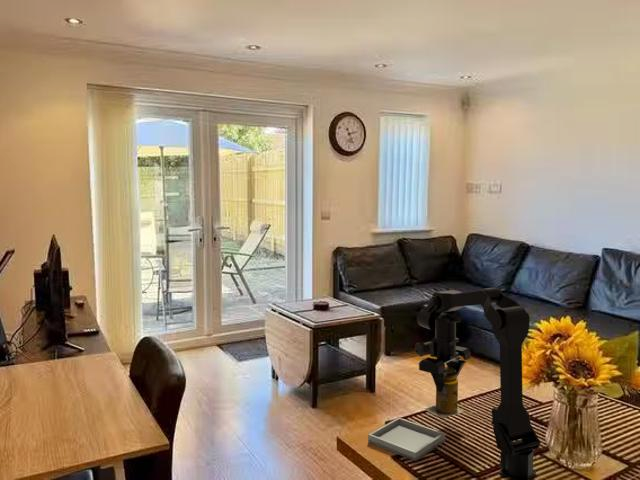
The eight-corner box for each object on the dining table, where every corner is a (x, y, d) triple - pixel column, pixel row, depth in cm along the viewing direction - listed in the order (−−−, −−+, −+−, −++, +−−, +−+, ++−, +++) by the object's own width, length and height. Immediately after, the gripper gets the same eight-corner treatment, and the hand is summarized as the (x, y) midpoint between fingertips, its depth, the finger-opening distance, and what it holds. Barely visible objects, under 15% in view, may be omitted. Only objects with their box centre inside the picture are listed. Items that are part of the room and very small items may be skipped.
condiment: (464, 411, 152) (464, 370, 151) (442, 419, 148) (443, 377, 146) (445, 402, 158) (445, 363, 157) (424, 410, 154) (424, 369, 152)
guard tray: (445, 441, 145) (445, 433, 145) (415, 461, 135) (415, 453, 135) (398, 424, 156) (398, 417, 155) (368, 442, 146) (368, 434, 145)
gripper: (438, 323, 164) (438, 373, 165) (402, 337, 150) (403, 391, 152) (471, 329, 156) (471, 381, 158) (437, 344, 143) (437, 401, 144)
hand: (445, 388), depth 153 cm, fingers closed on condiment, 6 cm apart
